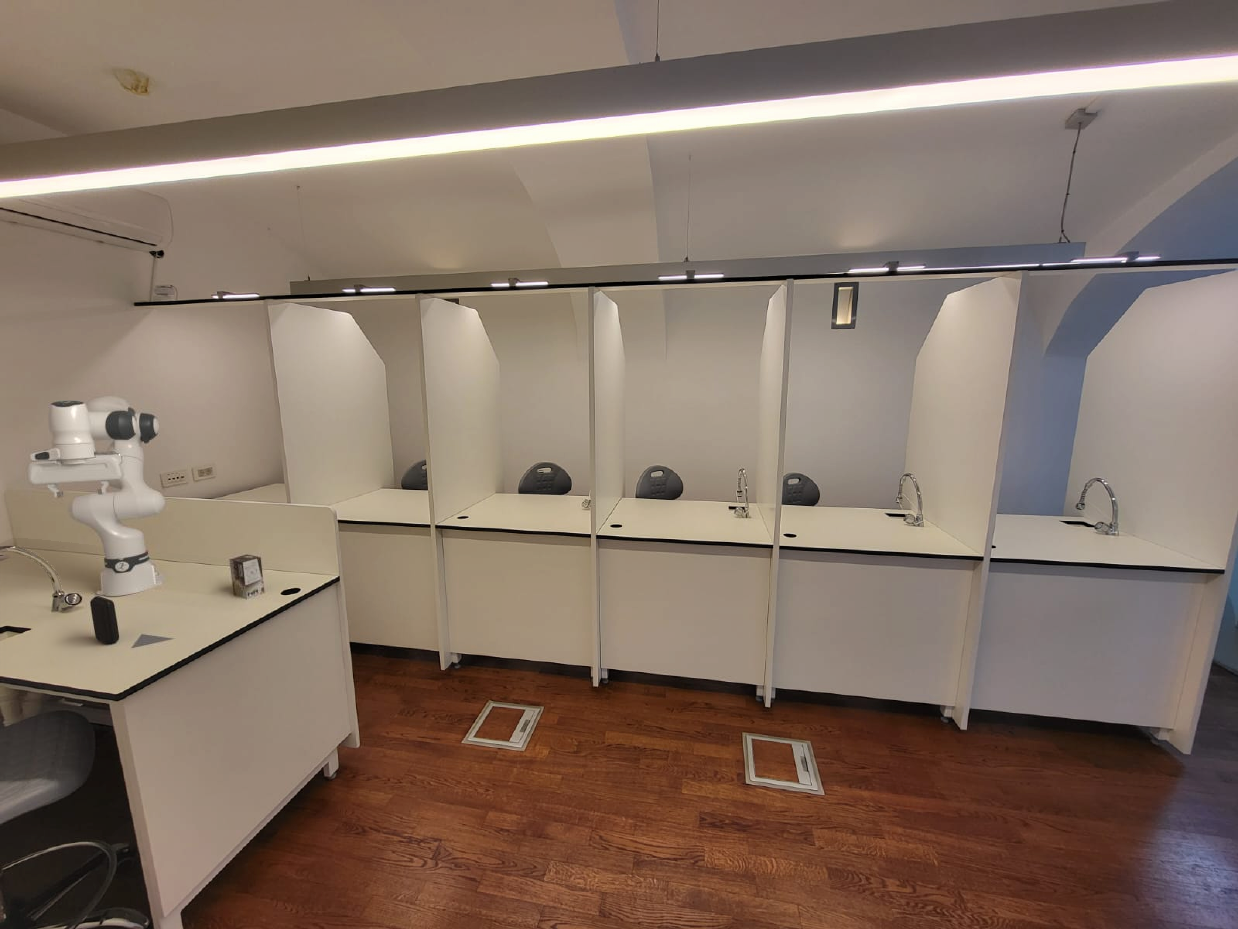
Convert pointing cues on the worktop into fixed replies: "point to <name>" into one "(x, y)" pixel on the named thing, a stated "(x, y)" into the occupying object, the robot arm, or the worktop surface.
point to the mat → (149, 640)
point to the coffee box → (247, 576)
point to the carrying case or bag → (104, 620)
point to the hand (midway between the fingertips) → (81, 495)
